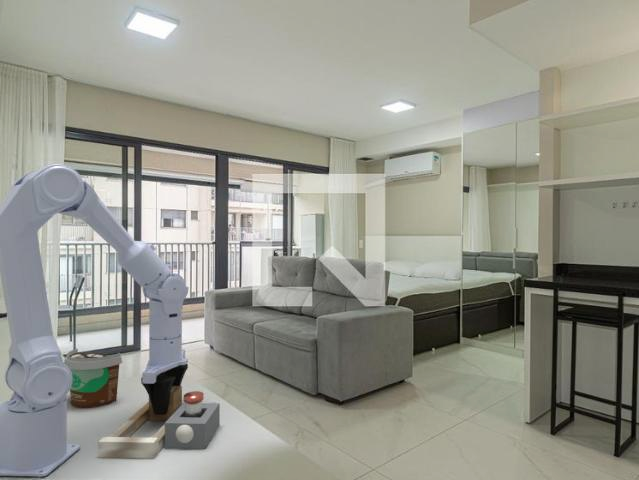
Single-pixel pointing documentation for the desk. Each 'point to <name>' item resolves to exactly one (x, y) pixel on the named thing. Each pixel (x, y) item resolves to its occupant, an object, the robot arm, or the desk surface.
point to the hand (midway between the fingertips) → (165, 408)
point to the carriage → (174, 404)
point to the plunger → (194, 403)
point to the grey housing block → (192, 427)
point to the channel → (132, 439)
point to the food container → (93, 378)
